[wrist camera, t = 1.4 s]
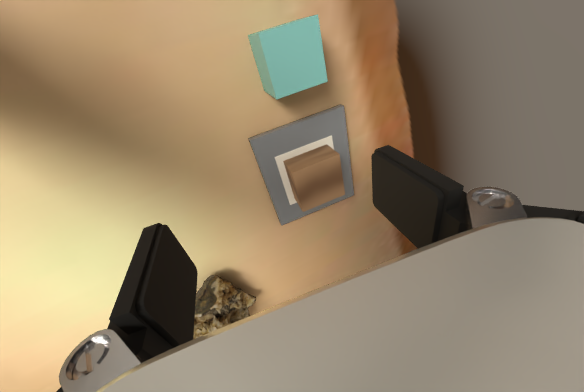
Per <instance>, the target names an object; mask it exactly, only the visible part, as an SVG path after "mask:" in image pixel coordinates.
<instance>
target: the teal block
mask: <svg viewBox="0 0 584 392" xmlns="http://www.w3.org/2000/svg"><path fill="white" fill-rule="evenodd" d="M248 38H249V41H250V44H251V48H252V51H253V54H254V58H255V61H256V65H257V68H258V71H259V75H260V78H261V81H262V85H263V88H264V91H265V92H267V93H268V94H269V95H271V96H272V97H274V98H275V99H276V100H277V99H280V98H282V97H285V96H288V95H291V94H294V93H297V92H299V91H302V90H305V89H308V88H311V87H314V86H316V85H319V84H322V83H325V82H328V81H327V74H326V67H325V60H324V53H323V46H322V40H321V33H320V26H319V19H318V15H314V16H310V17H306V18H302V19H298V20H295V21H292V22H289V23H285V24H282V25H279V26H276V27H273V28H269V29H266V30H263V31H260V32H257V33H253V34H250V35H248Z"/></svg>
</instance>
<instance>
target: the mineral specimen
mask: <svg viewBox="0 0 584 392" xmlns="http://www.w3.org/2000/svg"><path fill="white" fill-rule="evenodd" d="M255 301H256V297H254V296H252V295H250V294H246V293H245V292H243V291H242V290H241V289H238V288H235V287H234V286H233V285H232V284H231V282H228V281H225V280H223V279H222V278H220V277H218V276H217V275H215V276H213V275H211V276H210V277H209V278H207V279H206V280H205V281H204V283H203V286H202V287H201V288H200V289H199V291H198V293H197V294H196V304H195V320H194V335H193V340H194V339H196V338H198V337H201V336H203V335H205V334H208V333H210V332H212V331H215V330H217V329H220V328H222V327H224V326H227V325H229V324H232V323H234V322H237V321H239V320H242V319H244V318H247V317H249V316H250V315H249V311H248V307H249V306H252V304H253V303H255Z"/></svg>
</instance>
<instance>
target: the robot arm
mask: <svg viewBox="0 0 584 392" xmlns="http://www.w3.org/2000/svg"><path fill="white" fill-rule="evenodd" d="M463 187H464V186H463V185H461V184H459V183H457V182H456V181H454V180H452V179H450V178H448V177H446V176H445V175H443V174H441V173H439V172H437V171H435V170H434V169H432V168H430V167H428V166H426V165H424V164H423V163H421V162H419V161H417V160H415V159H413V158H411V157H410V156H408V155H406V154H404V153H402V152H400V151H399V150H397V149H395V148H393V147H391V146H389V145H387V146H384V147H381V148H378V149H376V150H375V152H374V153H373V154H372V191H373V204H374V206H375V207H376V208H377V209H378V210H379V211H380V212H381V213H382V214H383V215H384V216H385V217H386V218H387V219H388V220H389V221H390V222H391V223H392V224H393V225H394V226H395V227H396V228H397V229H398V230H399V231H401V232H402V233H403V234H404V235H405V236H406V237H407V238H408V239H409V240H410V241H411V242H412V243H413V244H414V245H415V246H416V247H417V248H418V249H416V250H414V251H411V252H409V253H406V254H404V255H401V256H399V257H396V258H393V259H391V260H388V261H386V262H383V263H381V264H378V265H376V266H373V267H371V268H368V269H366V270H363V271H361V272H358V273H356V274H353V275H351V276H348V277H346V278H343V279H341V280H338V281H336V282H333V283H331V284H328V285H326V286H323V287H321V288H318V289H316V290H313V291H311V292H308V293H306V294H303V295H301V296H298V297H296V298H293V299H291V300H288V301H286V302H283V303H281V304H278V305H276V306H274V307H271V308H269V309H266V310H264V311H261V312H259V313H256V314H254V315H251V316H249V317H247V318H244V319H242V320H239V321H237V322H234V323H232V324H229V325H227V326H224V327H222V328H220V329H217V330H215V331H212V332H210V333H208V334H205V335H203V336H201V337H198V338H196V339H194V340H193V335H194V320H195V304H196V288H197V269H196V266H195V265H194V263H193V262H192V260H191V259H190V257H189V256H188V255H187V253H186V252H185V250H184V249H183V247H182V246H181V244H180V243H179V242H178V240H177V239H176V237H175V236H174V234H173V233H172V231H171V230H170V229H169V227H168V226H167V225H162V224H161V223H157V224H154V225H151V226H149V227H146V228H144V229H143V231H142V234H141V237H140V239H139V242H138V244H137V247H136V250H135V252H134V255H133V258H132V260H131V263H130V266H129V268H128V271H127V273H126V276H125V279H124V281H123V284H122V287H121V289H120V292H119V295H118V297H117V300H116V302H115V305H114V308H113V310H112V313H111V316H110V318H109V320H110V323H109V326H108V328H107V329H104V330H101V331H97V332H96V333H94V334H92V335H90V336H89V337H87V338H86V339H85V340H83V341H82V342H81V343H80V344H79V345H78V346H77V347H76V348H75V349H74V350H73V351H72V352H71V353H70V355H69V356H68V357H67V359H66V360H65V362H64V364H63V366H62V368H61V371H60V374H59V382H60V385H61V388H60V389H59V390H58V391H57V392H584V211H583V212H582V211H574V210H565V209H556V208H546V207H537V206H528V205H522V203H521V201H520V200H519V198H518V197H517V196H516V195H515V194H513V193H512V192H509V191H507V190H504V189H501V188H496V187H477V188H474V189H472V190H470V191H469V192H468V193H465V192H464V191H463Z"/></svg>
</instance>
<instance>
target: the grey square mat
mask: <svg viewBox="0 0 584 392" xmlns="http://www.w3.org/2000/svg"><path fill="white" fill-rule="evenodd" d="M248 139H249V142H250V144H251V147H252V150H253V152H254V155H255V157H256V160H257V163H258V165H259V168H260V171H261V173H262V176H263V179H264V181H265V184H266V186H267V189H268V192H269V194H270V197H271V200H272V202H273V205H274V208H275V210H276V213H277V216H278V218H279V221H280V223H281V225H284V224H287V223H289V222H291V221H294V220H296V219H299V218H301V217H303V216H306V215H308V214H310V213H313V212H315V211H318V210H320V209H322V208H325V207H327V206H329V205H332V204H334V203H337V202H339V201H341V200H344V199H346V198H348V197H351V196H353V195H354V190H353V181H352V172H351V164H350V155H349V146H348V137H347V128H346V120H345V111H344V106H343V105H338V106H335V107H332V108H330V109H327V110H324V111H322V112H319V113H316V114H313V115H311V116H308V117H305V118H302V119H300V120H297V121H294V122H292V123H289V124H286V125H283V126H281V127H278V128H275V129H273V130H270V131H267V132H264V133H262V134H259V135H256V136H253V137H251V138H248ZM326 144H327V145H328V146H330V147H331V148H332V149H334V150H335V151H336V152H337V153H339V154H340V161H341V168H342V176H343V183H344V190H345V195H343V196H341V197H338V198H336V199H333V200H331V201H329V202H326V203H324V204H321V205H319V206H317V207H314V208H312V209H309V210H307V211H305V212H303V211H302V210H301V208H300V206H299V205H298V203H297V202H296V200H295V198H294V195H293V192H292V188H291V185H290V182H289V179H288V175H287V172H286V169H285V165H284V162H283V161H285V160H287V159H290V158H292V157H295V156H298V155H300V154H303V153H305V152H308V151H310V150H313V149H316V148H318V147H321V146H323V145H326Z"/></svg>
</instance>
